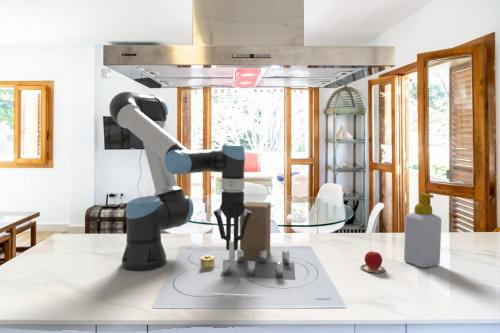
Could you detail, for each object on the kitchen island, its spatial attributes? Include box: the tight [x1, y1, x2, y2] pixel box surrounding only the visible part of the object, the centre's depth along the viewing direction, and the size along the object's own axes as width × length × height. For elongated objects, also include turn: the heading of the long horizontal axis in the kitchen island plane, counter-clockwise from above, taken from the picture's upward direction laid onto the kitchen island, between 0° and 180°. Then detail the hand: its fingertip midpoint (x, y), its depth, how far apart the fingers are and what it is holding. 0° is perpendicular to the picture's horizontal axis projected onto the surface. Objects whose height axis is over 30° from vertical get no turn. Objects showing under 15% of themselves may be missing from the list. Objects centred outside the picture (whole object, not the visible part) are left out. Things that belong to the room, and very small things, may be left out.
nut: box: [200, 255, 216, 270], centre depth 123 cm, size 5×4×4 cm
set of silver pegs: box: [222, 248, 290, 278], centre depth 120 cm, size 21×14×4 cm
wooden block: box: [239, 201, 271, 261], centre depth 135 cm, size 10×10×20 cm
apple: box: [360, 250, 386, 274], centre depth 121 cm, size 8×8×6 cm
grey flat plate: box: [219, 259, 296, 281], centre depth 120 cm, size 24×16×1 cm, turn 84°
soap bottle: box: [403, 192, 442, 269], centre depth 127 cm, size 9×9×25 cm
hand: (231, 259), depth 121 cm, fingers closed
